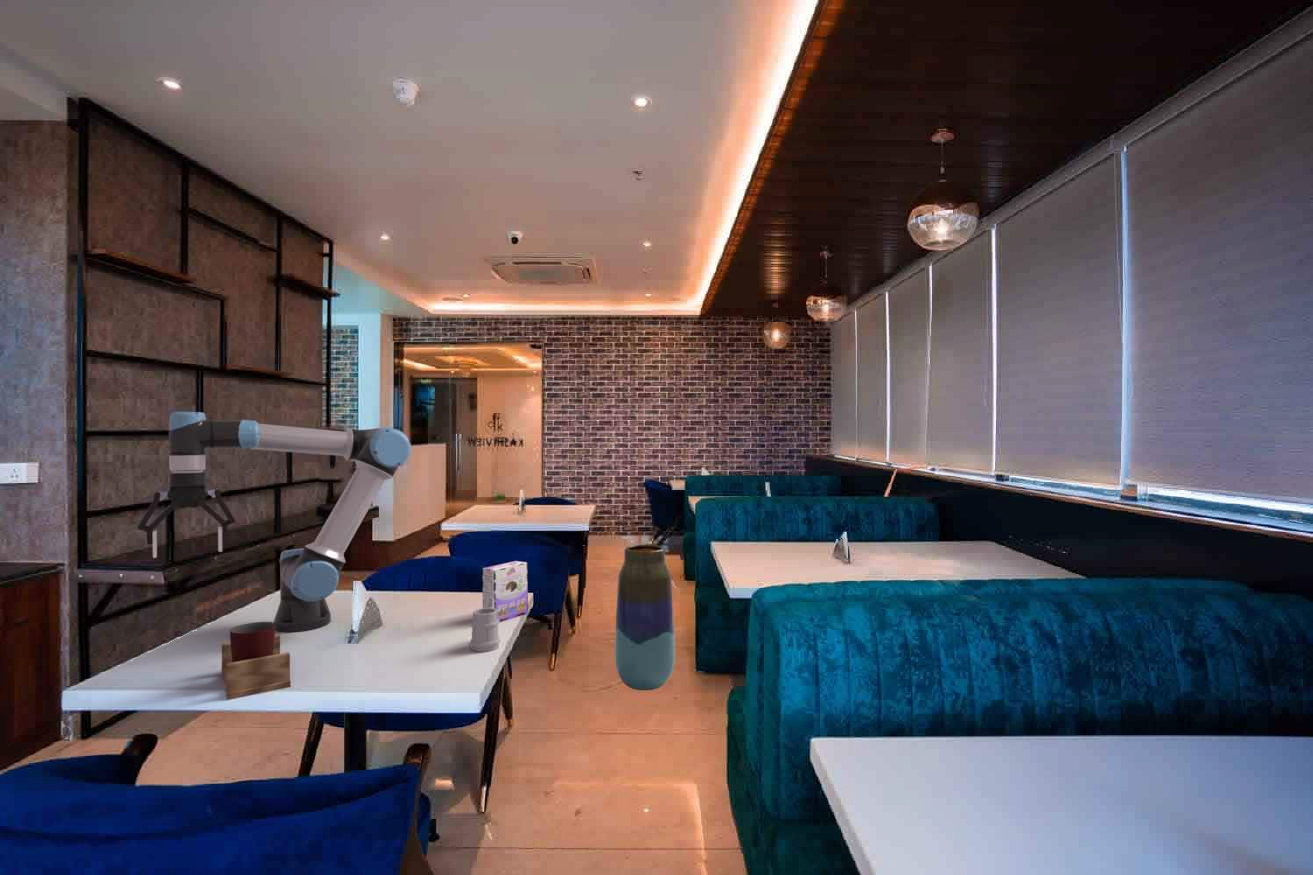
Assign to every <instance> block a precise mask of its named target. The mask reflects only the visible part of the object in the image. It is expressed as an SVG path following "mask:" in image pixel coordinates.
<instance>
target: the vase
mask: <svg viewBox="0 0 1313 875" xmlns="http://www.w3.org/2000/svg"><path fill="white" fill-rule="evenodd" d="M623 551H624V552H623V555H624V556H623V557H624V558H623V563H622V566H621V568H620V571H619V572H618V575H617V589H616V590H617V591H616V592H617V593H616V610H615V611H616V612H615V633H614V665H615V671H616V673H617V675H618V677H619V678H620V680H621V681H622V682H623V684H624V685H625V686H627V687H628V688H629V689H633V690H636V691H652V690H656V689H659V688H662V687H663V686H664V685H666V684H667V682H668V681H669V679H670V678H671V675H672V674H673V671H674V667H675V659H676V643H675V642H676V641H675V640H676V639H675V638H676V637H675V622H674V621H675V620H674V607H673V604H674V603H673V600H674V599H673V589H672V588H673V587H672V574H671V572H670V569H669V567H668V565H667V563H666V549H665V547H663V546H661V545H657V544H656V545H655V544H634V545H629V546H626V547H625V548H624V550H623Z"/></svg>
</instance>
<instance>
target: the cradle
mask: <svg viewBox="0 0 1313 875" xmlns="http://www.w3.org/2000/svg"><path fill="white" fill-rule="evenodd" d="M221 676H222V677H221V678H222V681H223V685H224V689H225V695H226V700H227V701H230V700H233V699H238V698H243V697H248V696H253V695H257V694H262V693H267V692H271V691H276V690H281V689H287V688H290V687H291V682H292V681H291V654H290V652H289V651H288V652H282V653H281V635H280V633H279V634H275V637H274V650H273V655H271V656H265V657H260V658H254V659H249V660H243V661H238V662H232V654H231V644H230V642H225V643H221Z"/></svg>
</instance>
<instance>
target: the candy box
mask: <svg viewBox="0 0 1313 875" xmlns="http://www.w3.org/2000/svg"><path fill="white" fill-rule="evenodd" d="M528 581H529V580H528V562H526V561H518V560H514V561H509V562H505V563H501V564H497V565H492V566H488V567H482V608H483V609H484V608H489V602H490V598H491V597H494V605H495V609H496V610H497V618H498V620H499V623H500V622H503V621H506V620H511V619H512V618H513V619H514V618H516V617H519V616H522V615H525V614H528V613H529V600H528V599H529V596H528V595H529V594H528V593H529V589H528V584H529V583H528Z"/></svg>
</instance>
